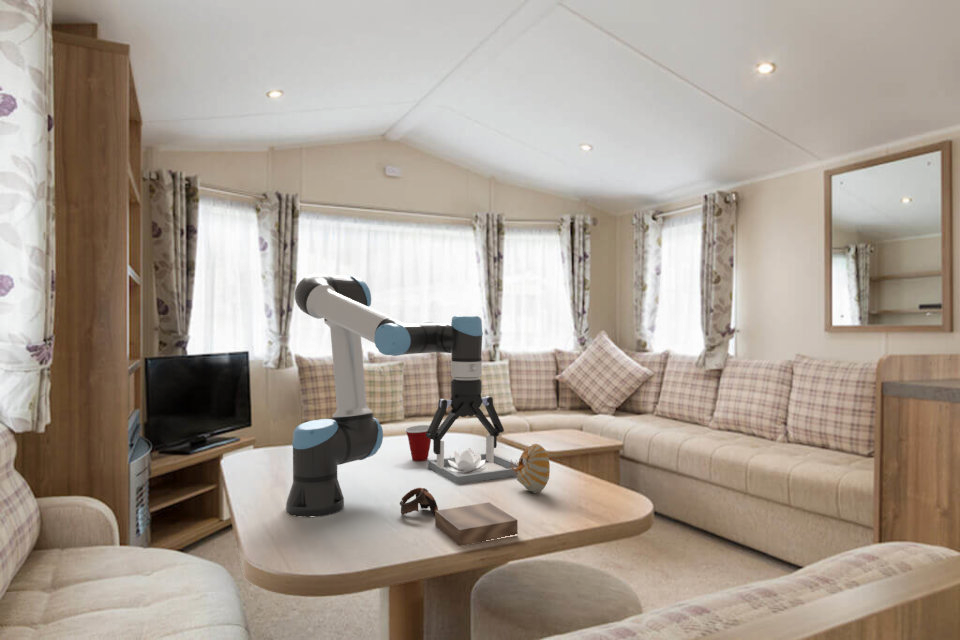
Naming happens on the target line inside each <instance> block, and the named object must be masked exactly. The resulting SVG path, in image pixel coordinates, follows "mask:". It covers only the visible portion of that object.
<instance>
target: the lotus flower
mask: <svg viewBox="0 0 960 640" xmlns="http://www.w3.org/2000/svg"><path fill="white" fill-rule="evenodd" d="M480 454H481V453H476V454H475V453H474V451H473V450H472V448H471V447H469V448H467V450H464V451H463V452H462V453H461V454H460V453H459V452H457V451H456V450H454V456H453V457H455V462H456V463H455V462H453V461H454V460H453V459H452V457H451V455H448V456H449V457H450V458H451V459H452V460H453V461H451V460H448V462H449V464H450V465H451V468H452V469H451V468H450V469H449V470H450V471H452V472H454V473H456V474H458V475H465V474H473V473H480V472H487V471H489V468H487V467H484V466H485V464H486V462H487V461H486V460H481V455H480Z"/></svg>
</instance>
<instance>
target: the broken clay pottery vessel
mask: <svg viewBox="0 0 960 640" xmlns="http://www.w3.org/2000/svg"><path fill="white" fill-rule="evenodd" d="M413 497H415V498H413ZM411 498H413V499H412V500H411V501H408V500H410V499H411ZM399 506H400V514H401V515H406V514H409V513H412V512H414V511H415V512H418V513H419V507H420V509H425V510H426V509H428V508H429V510H430V511H431V512H434V513H435V511H437V510H439V507H438V504H437V501H436V499H435V497H434V495H432V494H431V492H429V490H428V489H427V488H425V487H416V488H414V489H412V490H410V491H408V492H407V493H405V494H404V495H403V496H402V498H401V501H400V502H399Z"/></svg>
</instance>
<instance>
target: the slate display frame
mask: <svg viewBox="0 0 960 640" xmlns="http://www.w3.org/2000/svg"><path fill="white" fill-rule="evenodd" d="M480 455H481V460H486V452H484V453H480ZM451 458H452V459H453V460H454V461H453V460H452V459H451ZM427 460H428V459H427ZM448 460H451V461H453V462H455V456H453V457H444V468H442V469H441V468H439V467H437V458H435V459H429V460H428V461H427V468H428V469H430V470H432V471H433V472H435V473H436V474H439V475H440V476H442V477H444V478H446V479H448V480H449V481H451V482H453V483H454V484H456V485H460V484H461V485H462V484H469V483H470V482H471V483H476V481H479V482H484V481H483V480H486V481H490V480H489V479H493V480H497V479H496V478H500V479H504V478H503V477H506V478H510V477H509V476H513V477H517V476H516V475H517V474H515V473H517V472H516V471H514V470H513V469H516V467H518V464H519V463H518V464H517V462H516V463H515V461H512V464H511V459H508V458H505V457H503V456H500V455H498V454H495V453H494V462H493V463H495V464H497V465H499V466H501V467H504V468H502V469H496V470H487V471H485V472H480V473H473V474H465V475H458V474H456V473H454V472H452V471H450V469H448V468H447V467H449V466H451V465H450V464H449V462H448ZM485 462H488V461H487V460H486V461H485ZM455 463H456V462H455ZM513 464H514V465H515V466H516V465H517V466H516V467H515V466H514V465H513ZM510 465H511V466H510ZM512 465H513V469H512V468H511V467H512Z"/></svg>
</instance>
